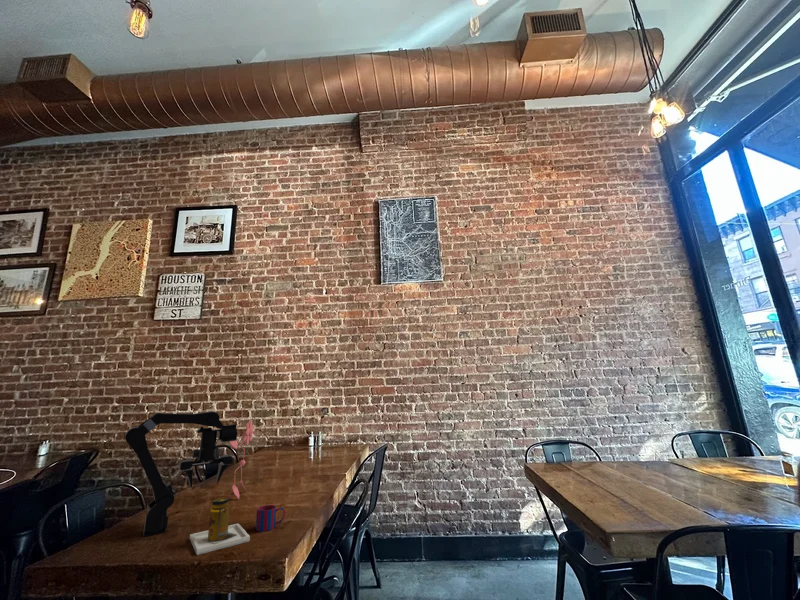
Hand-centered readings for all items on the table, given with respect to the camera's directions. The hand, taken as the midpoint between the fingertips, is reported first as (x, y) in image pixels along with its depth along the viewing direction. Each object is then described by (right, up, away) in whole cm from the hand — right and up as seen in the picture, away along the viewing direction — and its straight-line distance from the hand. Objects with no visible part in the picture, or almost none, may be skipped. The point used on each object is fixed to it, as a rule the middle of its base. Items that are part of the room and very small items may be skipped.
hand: (204, 485), depth 142 cm
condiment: (+16, -8, -20) cm, 27 cm away
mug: (+30, -10, -11) cm, 33 cm away
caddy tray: (+16, -8, -21) cm, 27 cm away
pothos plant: (+3, -21, +30) cm, 37 cm away
